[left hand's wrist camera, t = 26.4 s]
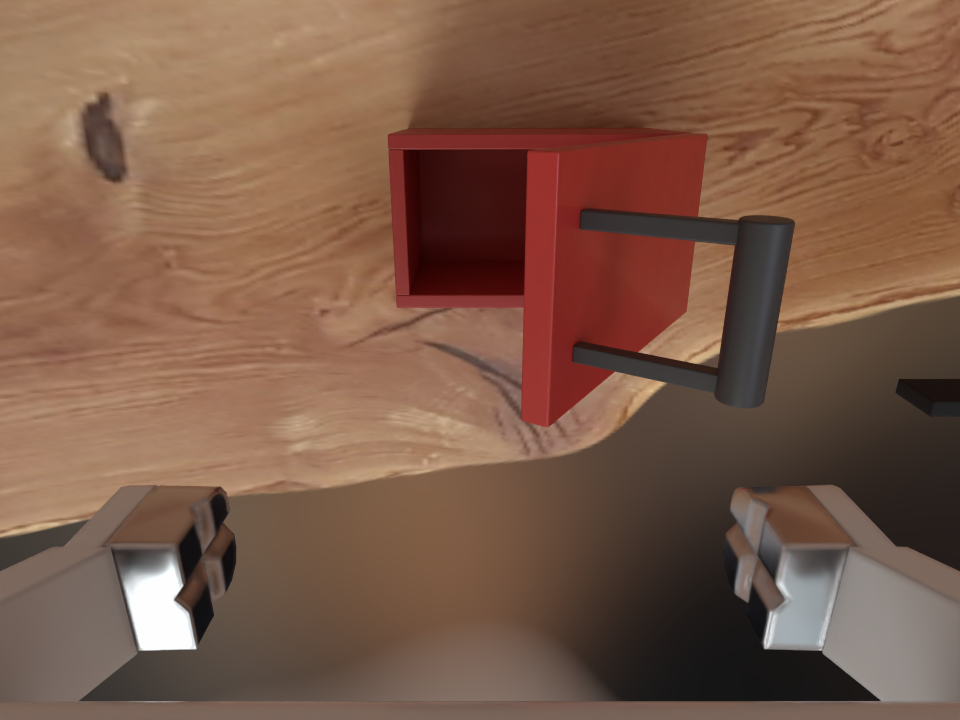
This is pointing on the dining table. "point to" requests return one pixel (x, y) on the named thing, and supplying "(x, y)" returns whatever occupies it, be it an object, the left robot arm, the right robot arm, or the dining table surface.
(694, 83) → the dining table surface
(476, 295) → the chest
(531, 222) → the lid
